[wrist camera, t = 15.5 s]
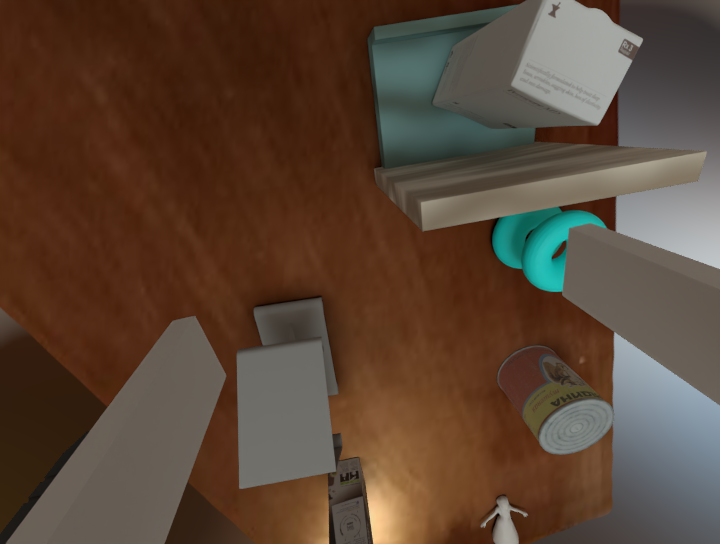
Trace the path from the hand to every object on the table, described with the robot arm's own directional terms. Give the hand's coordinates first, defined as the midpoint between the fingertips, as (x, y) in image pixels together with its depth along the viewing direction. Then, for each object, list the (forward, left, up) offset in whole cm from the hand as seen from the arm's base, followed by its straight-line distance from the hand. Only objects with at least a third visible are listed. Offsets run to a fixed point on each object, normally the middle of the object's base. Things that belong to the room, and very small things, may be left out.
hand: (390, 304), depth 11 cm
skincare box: (-7, +16, -28) cm, 33 cm away
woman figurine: (+84, +25, -31) cm, 93 cm away
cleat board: (-7, +14, -31) cm, 34 cm away
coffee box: (+56, -9, -31) cm, 65 cm away
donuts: (+11, +24, -31) cm, 41 cm away
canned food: (+38, +27, -31) cm, 56 cm away
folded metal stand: (+24, -11, -31) cm, 41 cm away
